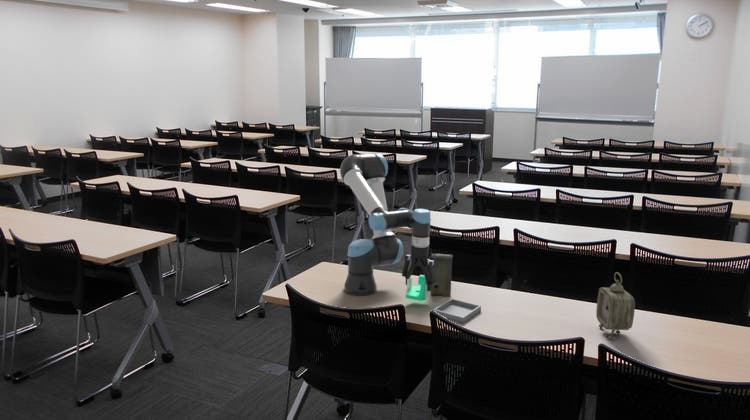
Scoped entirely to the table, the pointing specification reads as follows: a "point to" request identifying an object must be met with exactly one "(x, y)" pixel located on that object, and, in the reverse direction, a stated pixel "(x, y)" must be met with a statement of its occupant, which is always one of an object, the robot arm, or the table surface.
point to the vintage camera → (442, 275)
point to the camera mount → (418, 290)
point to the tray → (458, 310)
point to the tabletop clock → (615, 308)
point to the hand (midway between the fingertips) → (417, 294)
